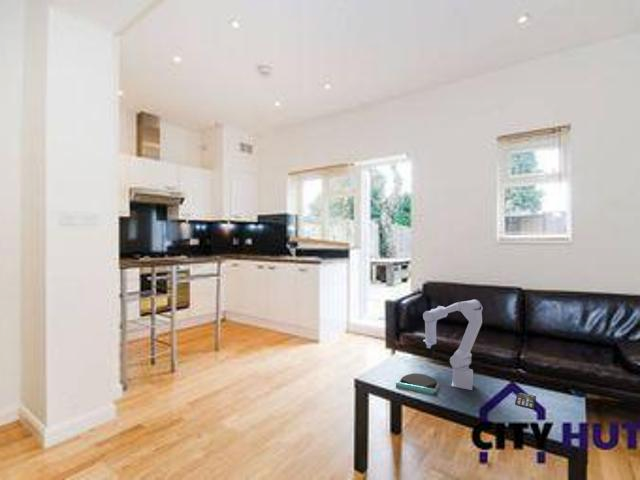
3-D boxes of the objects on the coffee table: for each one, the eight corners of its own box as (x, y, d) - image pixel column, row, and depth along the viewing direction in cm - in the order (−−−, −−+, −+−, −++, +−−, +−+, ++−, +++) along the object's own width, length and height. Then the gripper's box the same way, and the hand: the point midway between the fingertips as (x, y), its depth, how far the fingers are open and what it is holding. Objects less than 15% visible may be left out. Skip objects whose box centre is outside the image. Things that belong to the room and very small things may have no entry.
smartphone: (536, 395, 162) (534, 408, 149) (536, 397, 162) (534, 410, 149) (517, 391, 166) (514, 404, 154) (517, 393, 166) (514, 405, 154)
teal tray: (438, 387, 172) (438, 382, 172) (435, 395, 163) (435, 390, 163) (400, 379, 180) (400, 375, 180) (395, 387, 171) (395, 382, 171)
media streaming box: (398, 382, 178) (398, 376, 178) (418, 376, 186) (418, 370, 186) (420, 393, 165) (420, 387, 165) (440, 386, 173) (440, 380, 173)
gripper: (425, 328, 197) (425, 352, 197) (420, 335, 184) (420, 360, 184) (438, 330, 194) (438, 354, 194) (434, 336, 181) (434, 362, 181)
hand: (430, 357), depth 189 cm, fingers closed
